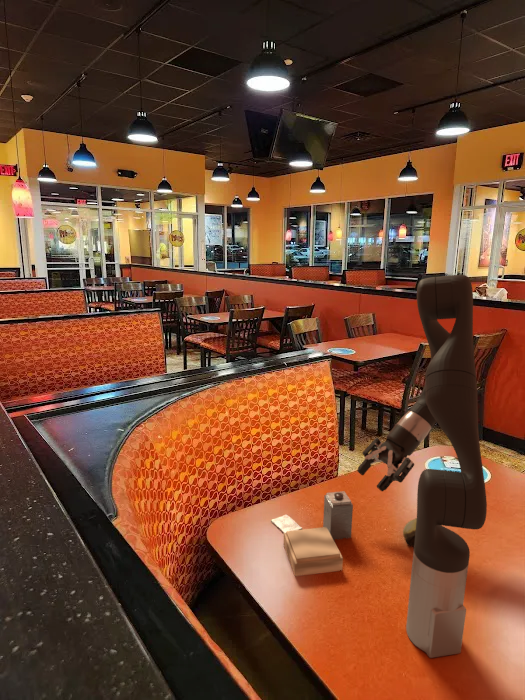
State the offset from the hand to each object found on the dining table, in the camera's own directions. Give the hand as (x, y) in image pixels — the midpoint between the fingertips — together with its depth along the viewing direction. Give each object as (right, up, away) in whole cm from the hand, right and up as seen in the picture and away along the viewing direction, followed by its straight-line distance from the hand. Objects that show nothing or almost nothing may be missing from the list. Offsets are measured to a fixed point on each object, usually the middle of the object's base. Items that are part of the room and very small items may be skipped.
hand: (369, 481), depth 116 cm
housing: (-8, -13, 0) cm, 15 cm away
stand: (-16, -15, -10) cm, 24 cm away
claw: (+16, -14, 0) cm, 21 cm away
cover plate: (-21, -13, +2) cm, 25 cm away
